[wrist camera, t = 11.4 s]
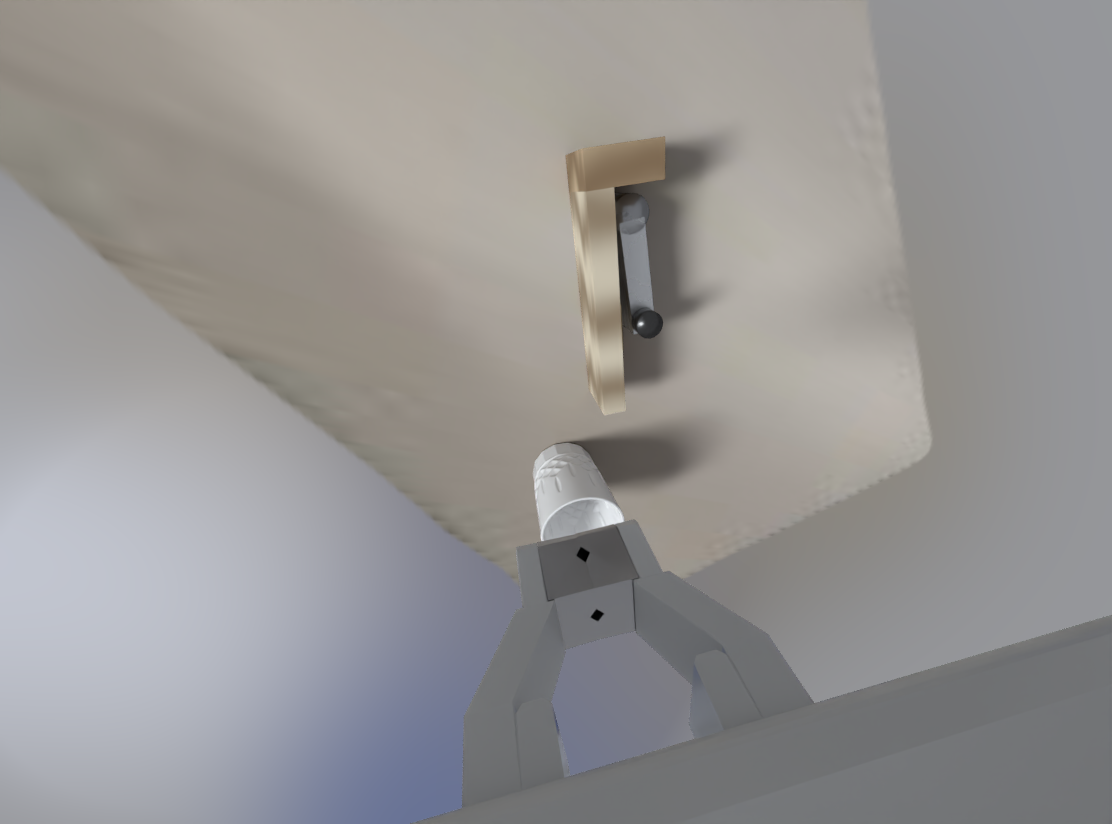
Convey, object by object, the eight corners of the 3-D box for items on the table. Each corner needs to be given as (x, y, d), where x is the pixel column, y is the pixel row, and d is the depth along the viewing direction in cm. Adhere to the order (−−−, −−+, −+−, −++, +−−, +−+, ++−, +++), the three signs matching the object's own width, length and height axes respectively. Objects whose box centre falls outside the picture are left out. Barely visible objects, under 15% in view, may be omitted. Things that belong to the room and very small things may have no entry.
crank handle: (597, 198, 32) (617, 198, 28) (630, 189, 32) (655, 188, 28) (616, 325, 38) (635, 342, 33) (644, 317, 38) (667, 333, 34)
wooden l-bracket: (565, 155, 31) (582, 148, 26) (635, 145, 31) (665, 136, 27) (589, 389, 41) (604, 415, 36) (642, 379, 42) (664, 402, 37)
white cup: (602, 481, 47) (631, 545, 39) (539, 503, 47) (554, 572, 38) (586, 427, 43) (615, 485, 35) (518, 451, 43) (529, 516, 35)
